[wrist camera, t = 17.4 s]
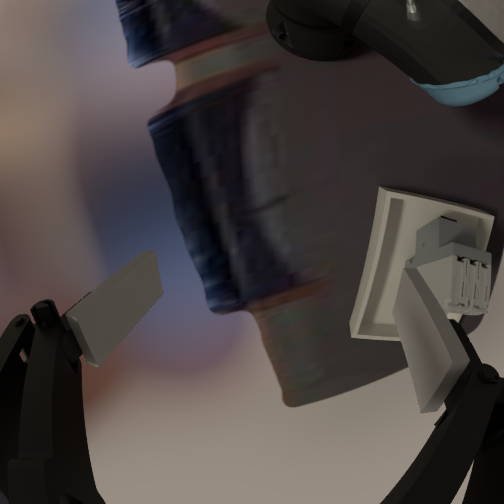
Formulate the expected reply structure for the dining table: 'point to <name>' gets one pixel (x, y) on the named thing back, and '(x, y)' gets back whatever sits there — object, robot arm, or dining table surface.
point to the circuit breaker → (453, 266)
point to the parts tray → (401, 254)
